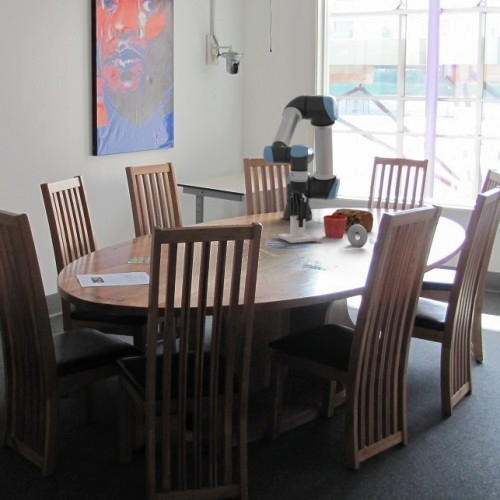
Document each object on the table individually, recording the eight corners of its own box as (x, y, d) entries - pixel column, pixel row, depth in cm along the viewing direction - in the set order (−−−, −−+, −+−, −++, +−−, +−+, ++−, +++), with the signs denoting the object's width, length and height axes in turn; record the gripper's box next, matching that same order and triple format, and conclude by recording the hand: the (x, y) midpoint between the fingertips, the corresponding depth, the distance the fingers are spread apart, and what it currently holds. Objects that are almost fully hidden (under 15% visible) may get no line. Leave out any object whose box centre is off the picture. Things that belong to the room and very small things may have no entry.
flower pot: (346, 235, 371) (346, 215, 369) (346, 240, 361) (347, 219, 358) (322, 235, 372) (323, 214, 370) (322, 239, 362) (323, 218, 359)
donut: (345, 246, 349) (345, 223, 347) (349, 244, 352) (350, 222, 350) (364, 249, 343) (365, 226, 341) (368, 248, 345) (369, 225, 343)
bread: (373, 231, 383) (374, 210, 381) (357, 234, 377) (358, 212, 374) (345, 225, 397) (346, 205, 395) (329, 227, 391) (330, 207, 389)
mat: (272, 239, 361) (272, 237, 361) (303, 236, 368) (303, 235, 368) (290, 247, 345) (290, 245, 345) (323, 244, 352) (323, 243, 352)
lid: (277, 237, 360) (278, 214, 357) (303, 234, 365) (304, 212, 363) (291, 242, 348) (291, 219, 346) (317, 240, 353) (318, 217, 351)
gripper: (282, 178, 356) (281, 230, 362) (299, 183, 342) (298, 237, 347) (298, 177, 359) (296, 229, 365) (315, 182, 345) (313, 236, 350)
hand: (297, 233), depth 356 cm, fingers closed on lid, 3 cm apart
